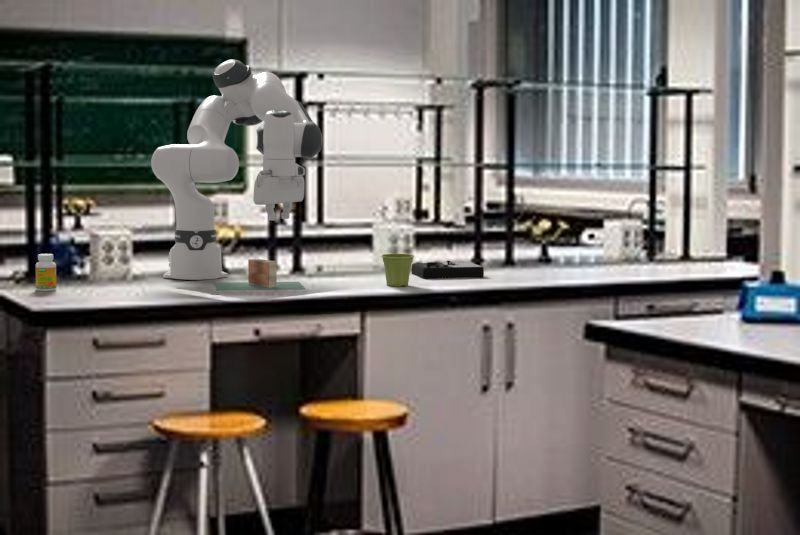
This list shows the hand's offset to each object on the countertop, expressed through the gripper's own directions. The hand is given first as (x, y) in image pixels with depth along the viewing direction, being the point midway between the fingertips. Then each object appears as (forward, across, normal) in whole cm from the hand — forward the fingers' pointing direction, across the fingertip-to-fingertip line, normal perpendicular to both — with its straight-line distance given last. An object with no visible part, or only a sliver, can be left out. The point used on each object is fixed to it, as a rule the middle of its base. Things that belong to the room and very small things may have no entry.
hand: (278, 219), depth 360 cm
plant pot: (+19, +24, -25) cm, 39 cm away
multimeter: (+20, +52, -26) cm, 62 cm away
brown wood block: (+18, -6, +2) cm, 19 cm away
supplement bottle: (+19, -39, +50) cm, 66 cm away
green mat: (+19, -7, +2) cm, 20 cm away
